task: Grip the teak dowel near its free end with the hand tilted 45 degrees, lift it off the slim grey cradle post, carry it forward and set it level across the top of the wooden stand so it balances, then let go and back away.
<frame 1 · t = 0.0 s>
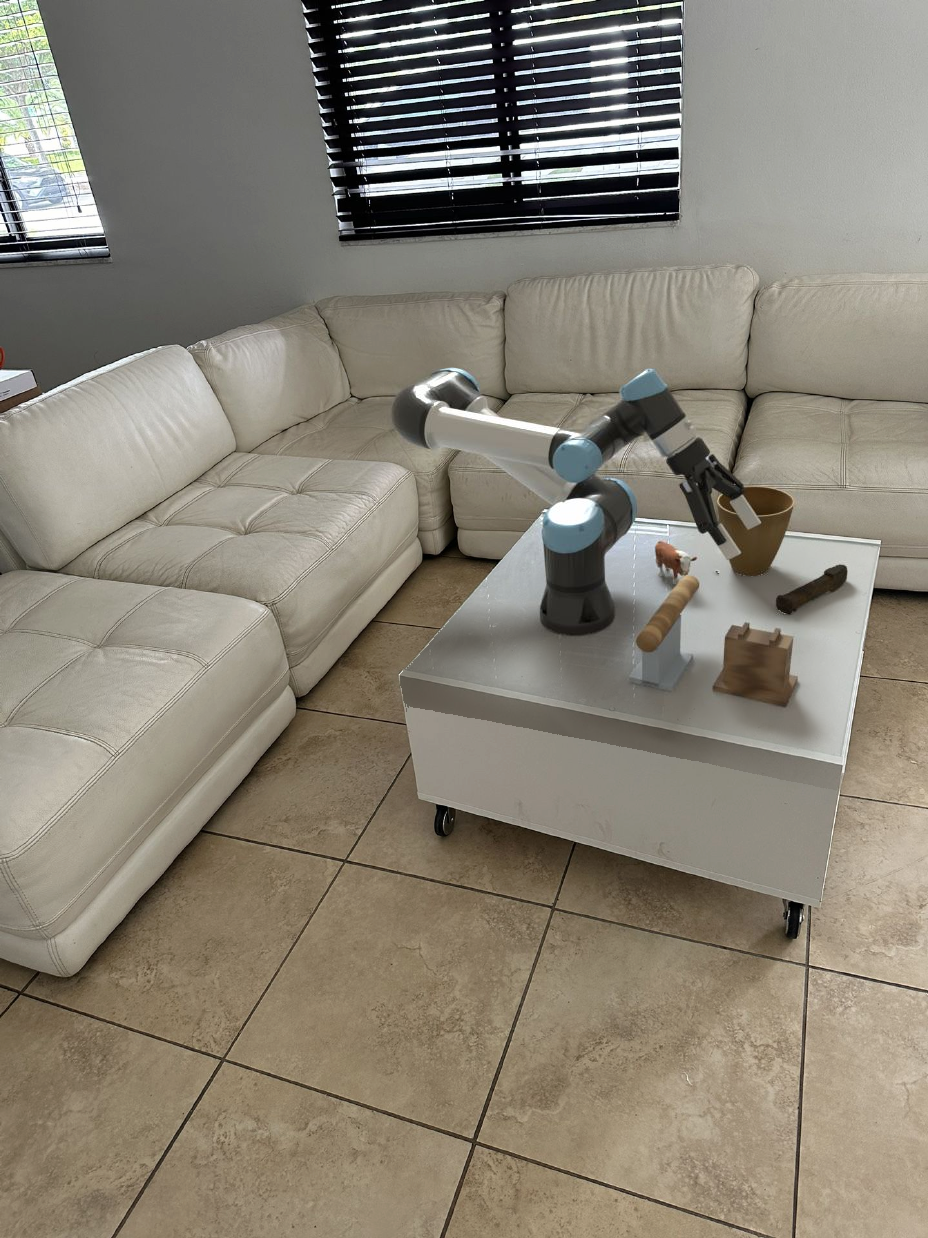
hand: (744, 540, 152), 15 cm above the table, tool tilted 35°, fingers open, 13 cm apart
hand tool: (812, 597, 161), on the table
cradle: (661, 669, 145), on the table
rod: (668, 620, 144), point 8 cm above the table, touching cradle
plant pot: (750, 570, 173), on the table
wooden stand: (754, 685, 138), on the table
bull figurine: (675, 581, 173), on the table
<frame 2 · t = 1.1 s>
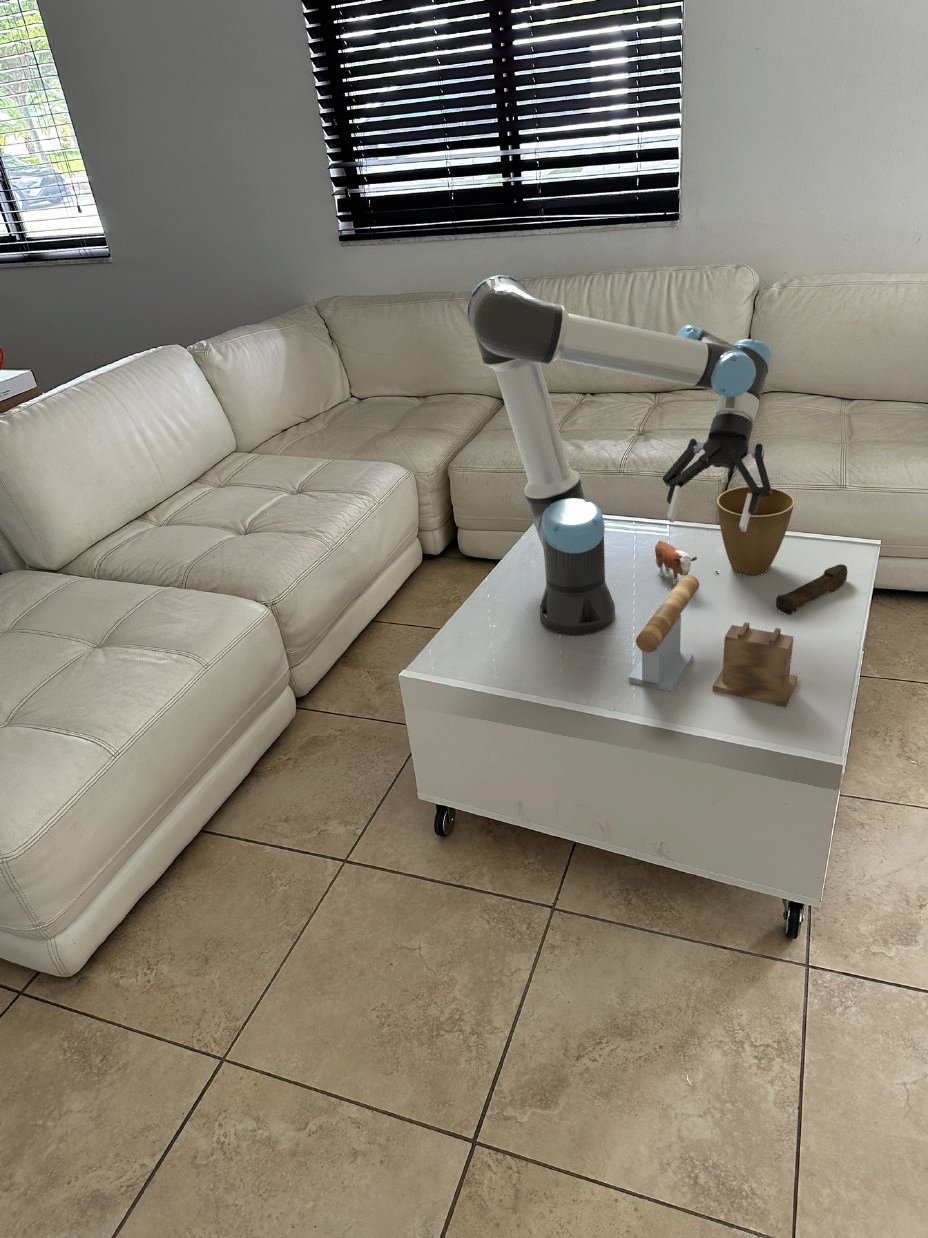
hand: (705, 524, 152), 19 cm above the table, tool tilted 45°, fingers open, 13 cm apart
nothing on the table moved.
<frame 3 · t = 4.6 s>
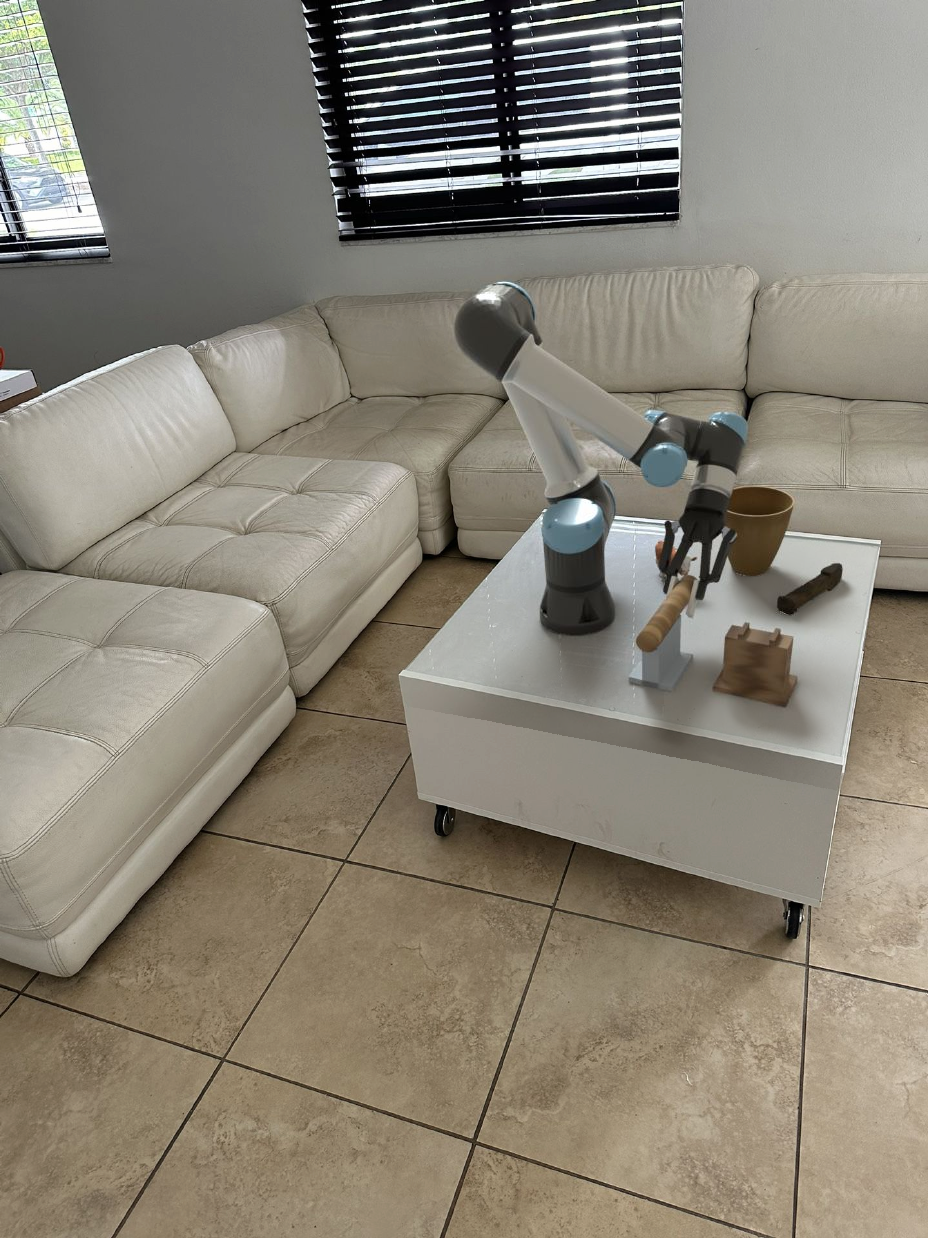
hand: (677, 613, 147), 7 cm above the table, tool tilted 45°, fingers closed on rod, 3 cm apart
rod: (668, 620, 144), point 8 cm above the table, touching cradle, gripper
when the fingers open (10 cm above the table, at t = 8.2 s): rod stays where it is, resting on wooden stand.
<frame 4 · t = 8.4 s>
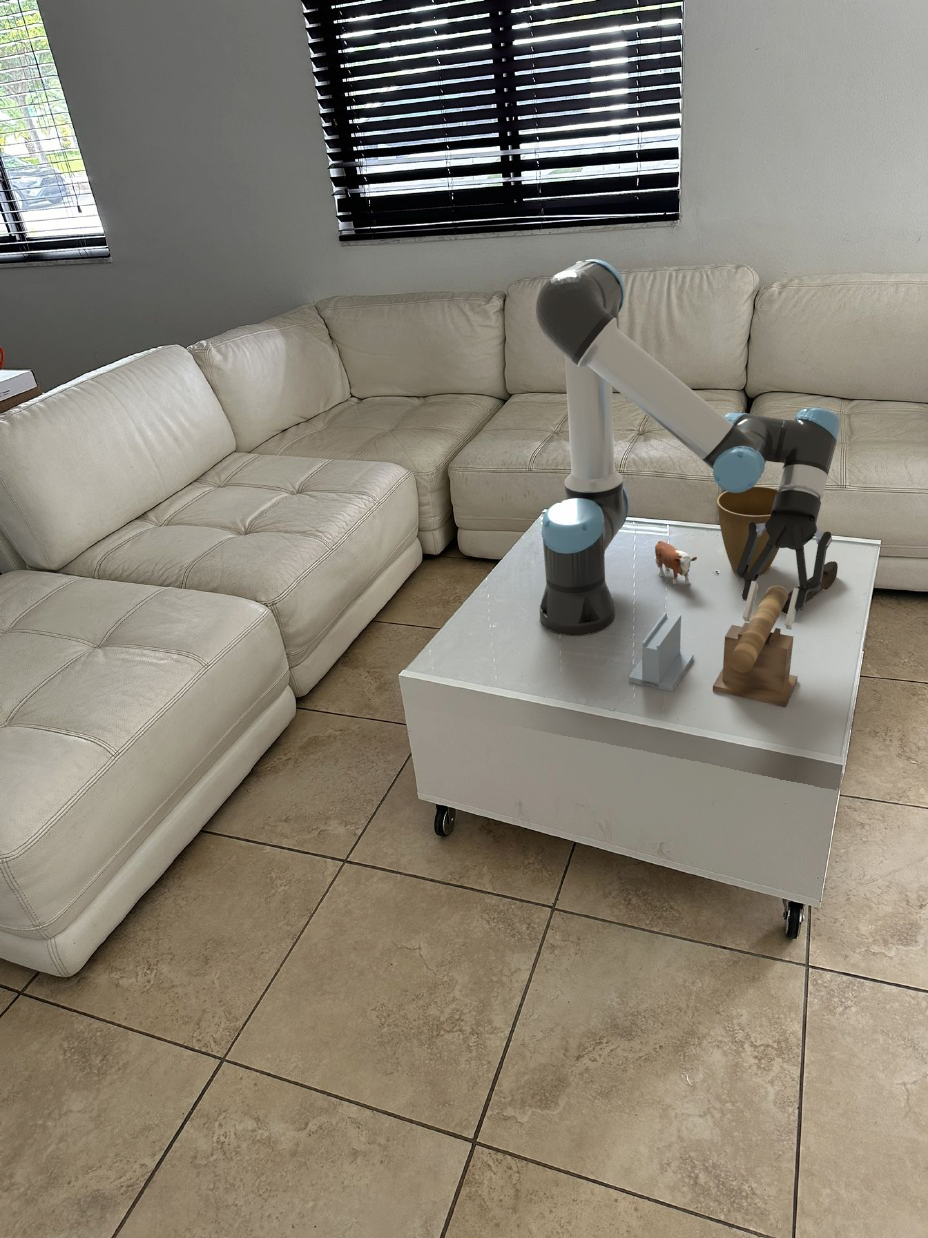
hand: (766, 622, 137), 10 cm above the table, tool tilted 45°, fingers open, 6 cm apart
rod: (759, 635, 133), point 10 cm above the table, touching wooden stand
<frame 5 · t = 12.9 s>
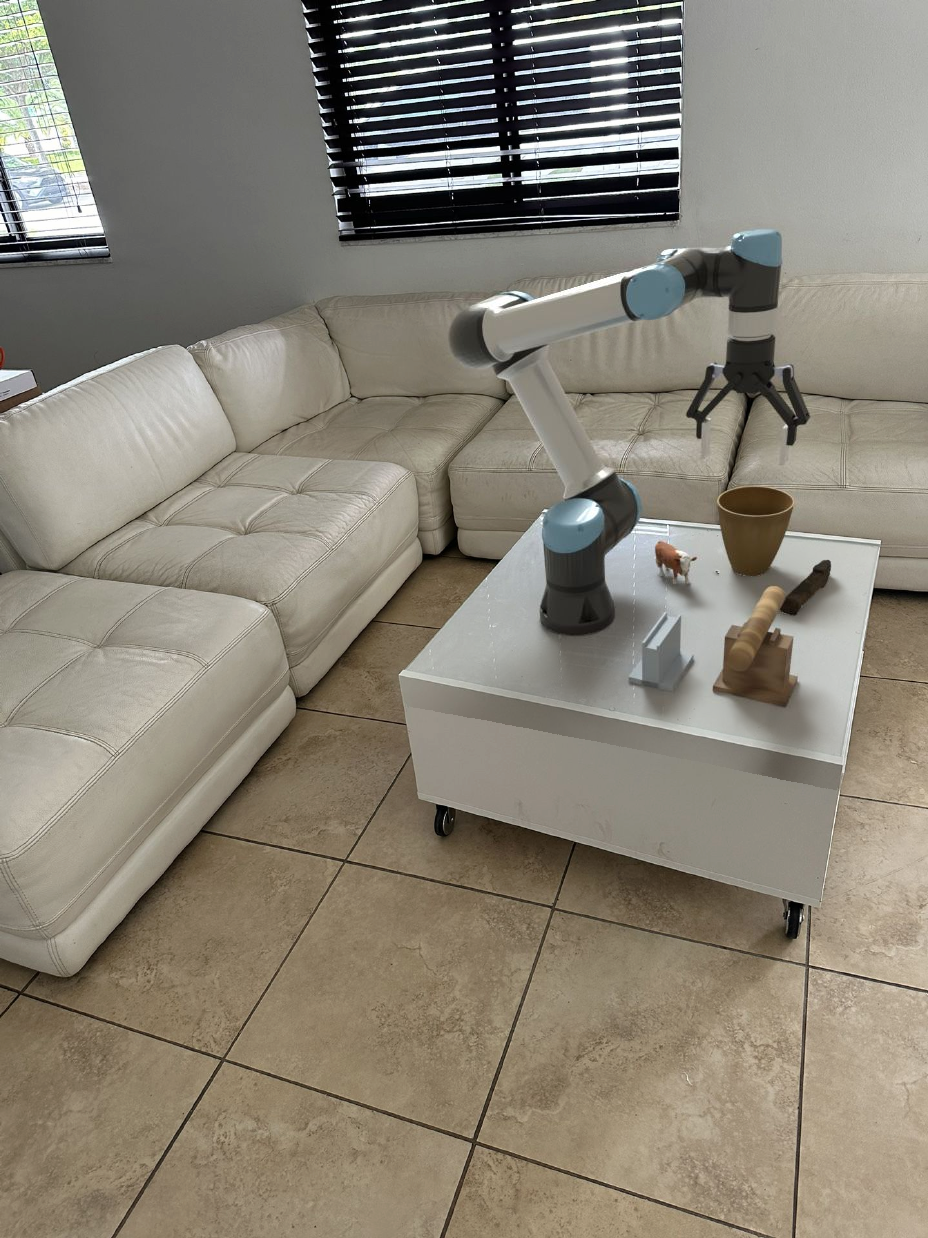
hand: (743, 459, 143), 32 cm above the table, tool pointing down, fingers open, 13 cm apart
rod: (759, 635, 133), point 10 cm above the table, tilted 11°, touching wooden stand
at the end: rod 0.1 cm off-centre on the wooden stand, point 10.0 cm above the wooden stand's base; rod touching wooden stand; the gripper is holding nothing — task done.
